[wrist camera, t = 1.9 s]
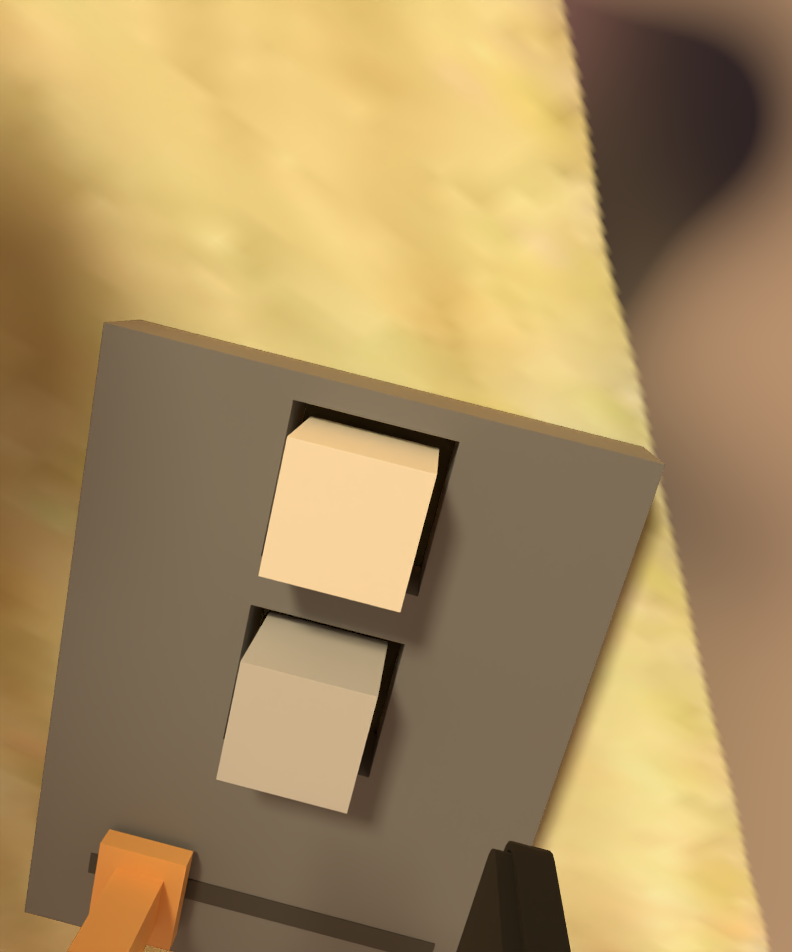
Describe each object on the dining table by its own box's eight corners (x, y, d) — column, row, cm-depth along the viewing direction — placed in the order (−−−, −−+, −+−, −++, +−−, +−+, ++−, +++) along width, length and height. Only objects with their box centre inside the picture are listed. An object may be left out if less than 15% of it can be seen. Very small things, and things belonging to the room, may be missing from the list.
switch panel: (140, 319, 28) (103, 322, 25) (643, 446, 28) (665, 464, 25) (60, 860, 34) (24, 912, 32) (466, 967, 34) (468, 1030, 31)
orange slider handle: (109, 829, 30) (39, 937, 25) (193, 851, 30) (140, 964, 25) (95, 912, 31) (26, 1032, 26) (176, 934, 31) (122, 1058, 26)
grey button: (269, 611, 28) (240, 661, 24) (388, 642, 28) (377, 697, 24) (247, 715, 30) (216, 779, 26) (360, 745, 29) (346, 813, 26)
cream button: (311, 415, 26) (286, 436, 22) (439, 448, 26) (436, 474, 22) (285, 536, 27) (258, 575, 24) (407, 568, 27) (400, 612, 24)
